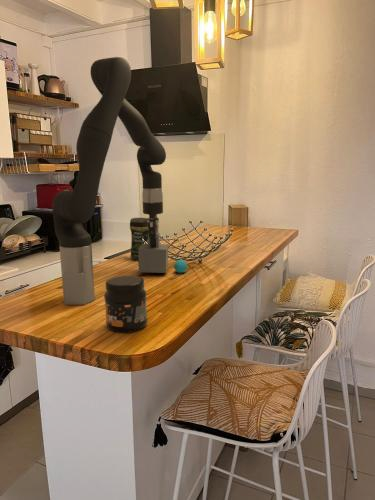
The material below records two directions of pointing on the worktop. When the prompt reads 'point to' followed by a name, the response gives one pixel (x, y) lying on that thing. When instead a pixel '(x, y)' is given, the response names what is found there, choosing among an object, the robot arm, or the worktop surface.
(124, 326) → the supplement container
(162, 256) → the gray stepped pedestal
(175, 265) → the ball
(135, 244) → the coffee jar
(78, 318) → the worktop surface
